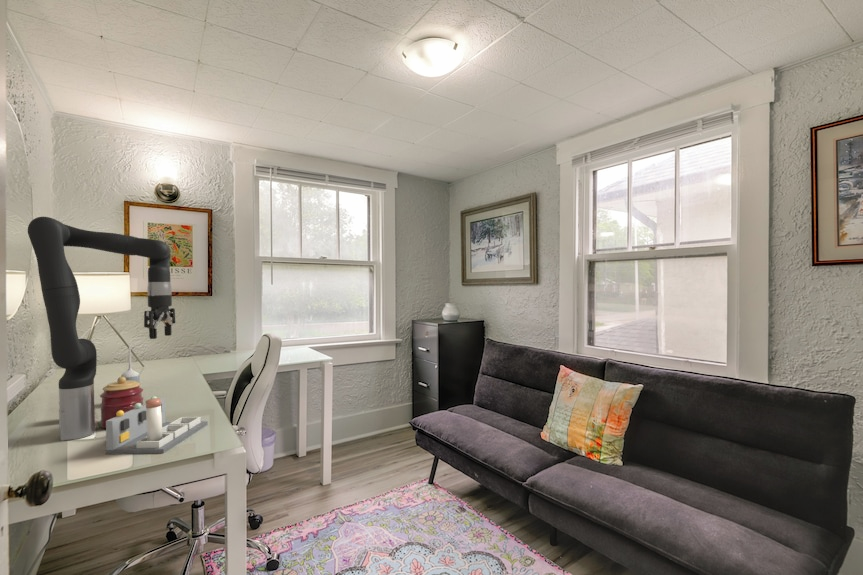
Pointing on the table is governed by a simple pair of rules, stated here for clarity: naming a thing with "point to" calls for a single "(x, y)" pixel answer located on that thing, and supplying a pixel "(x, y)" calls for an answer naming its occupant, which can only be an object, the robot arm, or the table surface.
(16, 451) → the table surface
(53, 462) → the table surface
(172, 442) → the breaker board
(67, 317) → the robot arm
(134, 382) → the canister
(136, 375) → the long-necked bottle
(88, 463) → the table surface
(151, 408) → the plug
